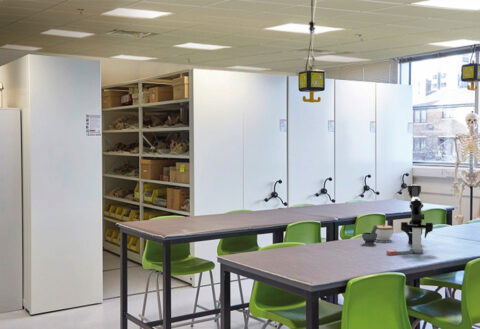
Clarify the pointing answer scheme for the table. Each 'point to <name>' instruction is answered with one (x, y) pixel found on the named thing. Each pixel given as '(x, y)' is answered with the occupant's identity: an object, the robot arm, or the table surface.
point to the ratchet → (404, 252)
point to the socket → (416, 238)
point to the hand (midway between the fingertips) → (417, 237)
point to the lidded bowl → (384, 232)
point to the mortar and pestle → (370, 236)
